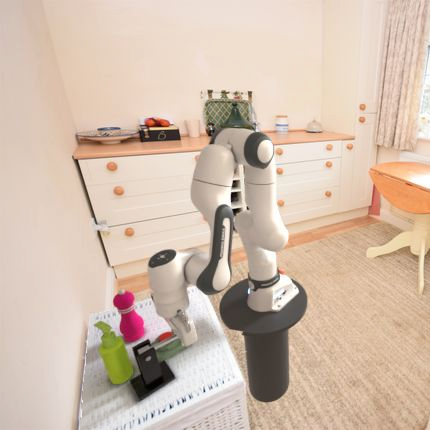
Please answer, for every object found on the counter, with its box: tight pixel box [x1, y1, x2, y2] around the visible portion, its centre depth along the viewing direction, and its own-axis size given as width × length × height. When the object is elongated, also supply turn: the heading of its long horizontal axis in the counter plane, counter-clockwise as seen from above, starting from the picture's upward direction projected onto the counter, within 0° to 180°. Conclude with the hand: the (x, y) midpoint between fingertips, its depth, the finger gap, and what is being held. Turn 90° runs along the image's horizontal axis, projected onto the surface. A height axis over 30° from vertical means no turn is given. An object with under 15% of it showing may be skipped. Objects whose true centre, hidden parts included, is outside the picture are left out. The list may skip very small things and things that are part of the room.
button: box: [158, 331, 173, 344], centre depth 97 cm, size 4×4×2 cm
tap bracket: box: [129, 338, 176, 402], centre depth 85 cm, size 10×8×14 cm
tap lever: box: [137, 334, 178, 355], centre depth 86 cm, size 12×5×2 cm, turn 137°
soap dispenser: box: [93, 320, 134, 385], centre depth 85 cm, size 6×7×20 cm
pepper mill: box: [112, 288, 146, 343], centre depth 99 cm, size 7×7×20 cm
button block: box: [150, 330, 189, 363], centre depth 98 cm, size 11×8×4 cm
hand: (179, 337), depth 90 cm, fingers closed on tap lever, 5 cm apart
